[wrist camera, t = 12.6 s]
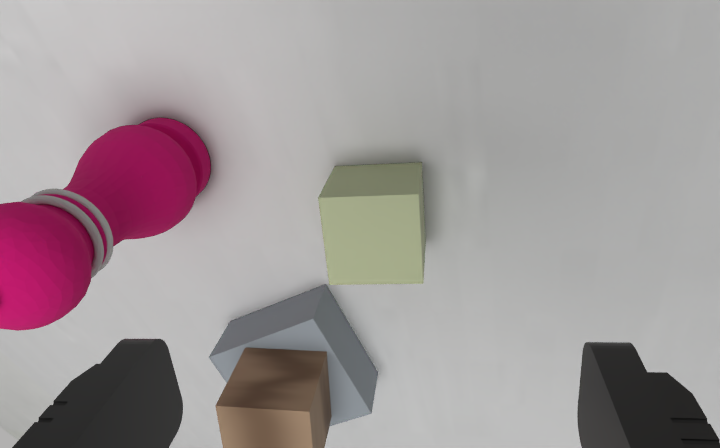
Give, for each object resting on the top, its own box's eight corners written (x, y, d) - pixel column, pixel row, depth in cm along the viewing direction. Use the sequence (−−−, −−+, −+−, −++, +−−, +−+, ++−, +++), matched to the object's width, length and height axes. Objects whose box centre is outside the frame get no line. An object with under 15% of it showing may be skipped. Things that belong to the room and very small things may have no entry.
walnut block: (326, 351, 40) (309, 411, 35) (331, 416, 43) (316, 482, 37) (245, 347, 41) (215, 405, 35) (254, 411, 43) (228, 475, 38)
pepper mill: (147, 215, 43) (-68, 398, 25) (104, 124, 40) (-171, 255, 22) (233, 194, 41) (70, 374, 23) (194, 98, 38) (-24, 216, 20)
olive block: (421, 161, 38) (418, 194, 33) (425, 241, 41) (423, 283, 35) (335, 165, 39) (318, 197, 34) (343, 243, 42) (329, 284, 36)
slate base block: (326, 282, 44) (313, 318, 39) (378, 369, 46) (371, 413, 42) (231, 319, 46) (208, 357, 42) (286, 399, 49) (270, 443, 45)
